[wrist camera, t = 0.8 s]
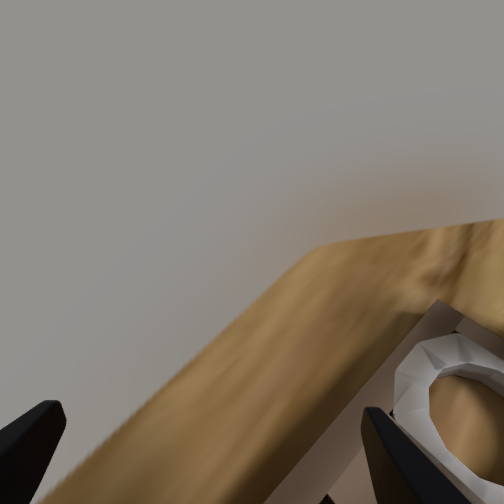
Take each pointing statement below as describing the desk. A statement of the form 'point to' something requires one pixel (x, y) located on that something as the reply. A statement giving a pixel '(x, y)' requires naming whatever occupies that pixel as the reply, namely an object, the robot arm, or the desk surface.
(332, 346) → the desk surface
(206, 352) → the desk surface
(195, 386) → the desk surface
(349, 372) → the desk surface
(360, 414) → the bore block
